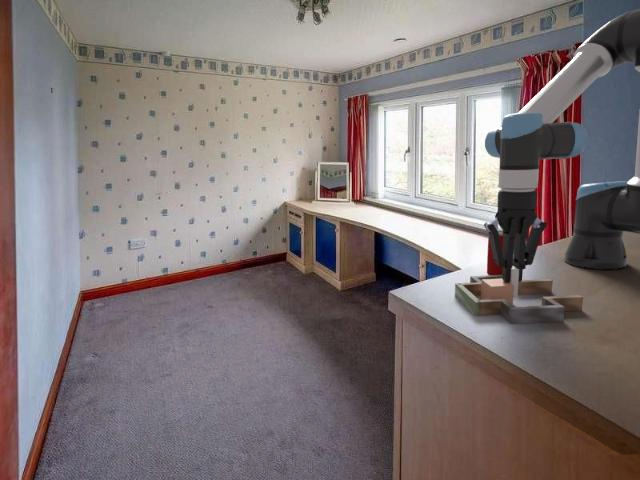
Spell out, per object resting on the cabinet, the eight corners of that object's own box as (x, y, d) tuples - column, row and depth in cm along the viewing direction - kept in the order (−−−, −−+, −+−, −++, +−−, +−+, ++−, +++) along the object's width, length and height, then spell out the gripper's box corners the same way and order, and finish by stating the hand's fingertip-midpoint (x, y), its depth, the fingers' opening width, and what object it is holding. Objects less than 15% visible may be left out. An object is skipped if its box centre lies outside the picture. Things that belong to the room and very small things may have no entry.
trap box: (538, 284, 105) (539, 273, 105) (597, 319, 84) (598, 305, 83) (448, 288, 105) (448, 277, 104) (484, 325, 83) (485, 311, 83)
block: (502, 299, 97) (503, 278, 96) (512, 307, 92) (514, 285, 91) (480, 300, 97) (481, 279, 96) (489, 308, 92) (491, 286, 91)
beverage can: (516, 280, 109) (519, 235, 106) (489, 279, 110) (491, 235, 108) (510, 272, 116) (513, 229, 113) (484, 272, 117) (486, 229, 114)
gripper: (538, 186, 93) (531, 288, 98) (479, 189, 92) (475, 291, 97) (558, 189, 85) (549, 300, 90) (494, 192, 85) (489, 303, 90)
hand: (511, 295), depth 94 cm, fingers closed
